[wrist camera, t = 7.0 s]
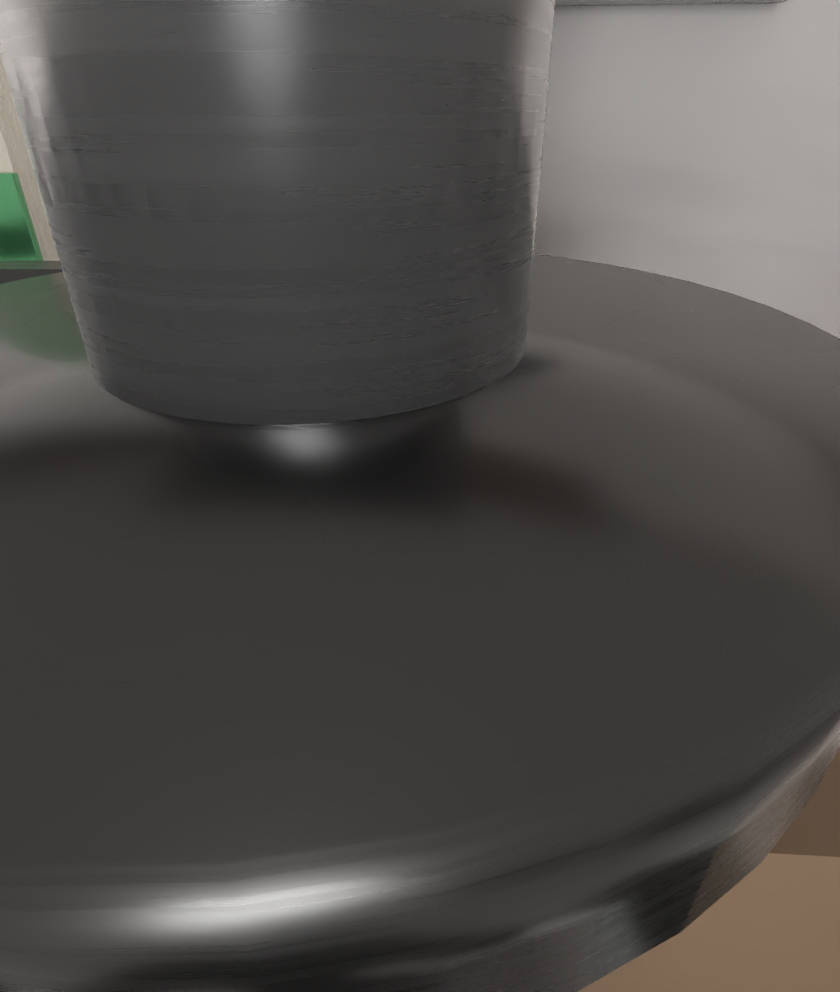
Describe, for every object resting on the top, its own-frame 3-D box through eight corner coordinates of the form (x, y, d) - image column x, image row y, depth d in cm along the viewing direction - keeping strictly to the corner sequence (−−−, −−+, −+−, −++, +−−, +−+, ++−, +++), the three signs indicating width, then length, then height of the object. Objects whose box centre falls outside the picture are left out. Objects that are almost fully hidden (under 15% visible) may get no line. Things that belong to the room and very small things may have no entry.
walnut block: (605, 341, 10) (947, 864, 3) (520, 844, 17) (563, 1327, 10) (227, 331, 10) (-260, 799, 3) (302, 832, 17) (203, 1297, 11)
